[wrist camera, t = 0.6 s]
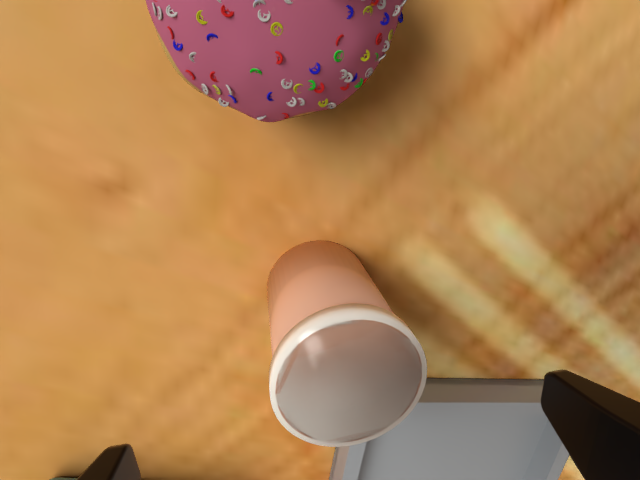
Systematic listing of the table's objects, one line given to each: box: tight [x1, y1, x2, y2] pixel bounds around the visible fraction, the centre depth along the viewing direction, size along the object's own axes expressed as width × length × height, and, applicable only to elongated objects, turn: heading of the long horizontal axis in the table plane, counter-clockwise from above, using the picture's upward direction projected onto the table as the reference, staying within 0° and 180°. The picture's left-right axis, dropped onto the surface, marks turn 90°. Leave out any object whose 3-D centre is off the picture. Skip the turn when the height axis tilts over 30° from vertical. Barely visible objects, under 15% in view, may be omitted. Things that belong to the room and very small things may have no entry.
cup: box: [267, 241, 427, 447], centre depth 18 cm, size 6×6×8 cm
